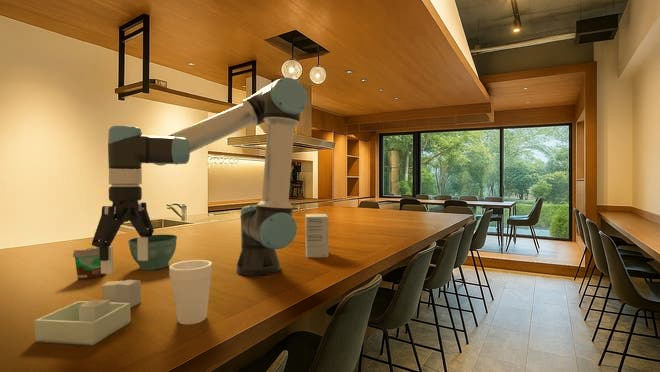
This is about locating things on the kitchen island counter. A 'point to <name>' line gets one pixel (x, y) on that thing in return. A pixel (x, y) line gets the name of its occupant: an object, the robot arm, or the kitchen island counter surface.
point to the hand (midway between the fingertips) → (126, 266)
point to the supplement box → (316, 235)
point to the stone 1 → (93, 310)
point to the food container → (88, 263)
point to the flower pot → (155, 251)
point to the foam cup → (191, 289)
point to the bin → (80, 325)
